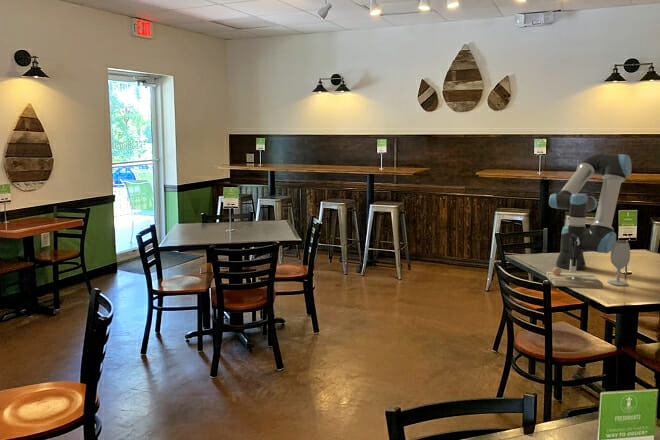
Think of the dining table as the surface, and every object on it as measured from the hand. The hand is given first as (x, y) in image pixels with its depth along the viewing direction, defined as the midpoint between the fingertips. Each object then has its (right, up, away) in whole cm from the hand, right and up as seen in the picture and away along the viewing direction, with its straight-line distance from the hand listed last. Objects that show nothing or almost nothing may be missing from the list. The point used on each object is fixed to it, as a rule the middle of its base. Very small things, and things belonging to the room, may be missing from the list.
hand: (572, 272), depth 288 cm
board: (0, -5, -1) cm, 5 cm away
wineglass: (+21, -6, -3) cm, 22 cm away
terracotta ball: (-7, 0, +2) cm, 7 cm away
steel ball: (-1, -4, -5) cm, 7 cm away
